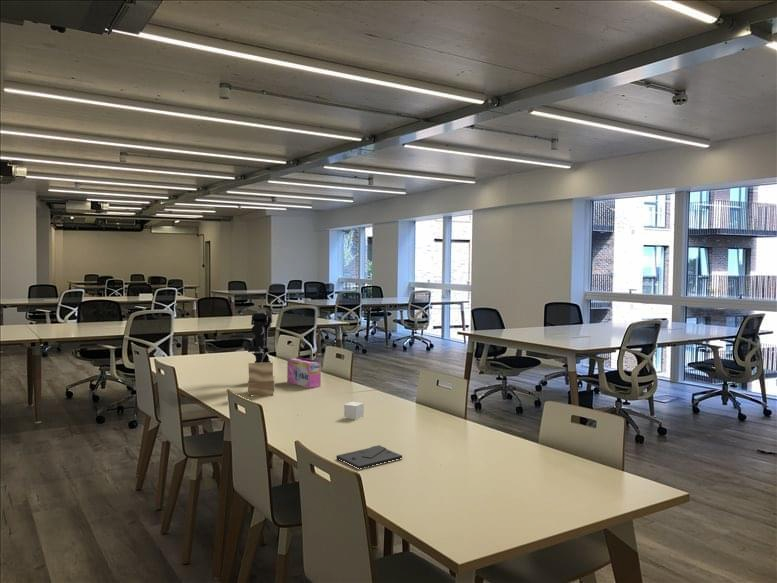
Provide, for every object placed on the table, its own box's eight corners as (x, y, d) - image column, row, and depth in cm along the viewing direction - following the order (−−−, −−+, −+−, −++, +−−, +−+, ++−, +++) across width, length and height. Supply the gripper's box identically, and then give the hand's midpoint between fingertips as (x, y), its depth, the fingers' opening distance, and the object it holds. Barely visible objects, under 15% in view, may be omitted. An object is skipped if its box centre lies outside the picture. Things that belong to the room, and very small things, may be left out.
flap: (248, 363, 288) (248, 363, 288) (272, 362, 290) (272, 363, 290) (249, 381, 294) (249, 381, 294) (272, 380, 296) (272, 381, 296)
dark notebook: (378, 451, 210) (336, 461, 200) (378, 444, 210) (336, 454, 199) (402, 461, 200) (358, 472, 189) (402, 454, 200) (358, 465, 189)
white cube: (356, 420, 250) (356, 406, 250) (344, 418, 253) (344, 404, 253) (363, 416, 256) (363, 403, 255) (351, 415, 259) (351, 401, 258)
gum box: (285, 381, 332) (285, 357, 331) (297, 380, 337) (297, 356, 336) (308, 388, 313) (308, 363, 313) (321, 386, 319) (321, 361, 318)
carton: (249, 391, 307) (249, 376, 306) (274, 390, 309) (274, 375, 309) (247, 396, 295) (247, 381, 294) (274, 395, 297) (274, 380, 297)
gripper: (250, 337, 322) (250, 366, 321) (238, 335, 304) (237, 366, 302) (270, 336, 321) (270, 365, 320) (259, 335, 303) (259, 366, 301)
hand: (259, 366), depth 311 cm, fingers closed
